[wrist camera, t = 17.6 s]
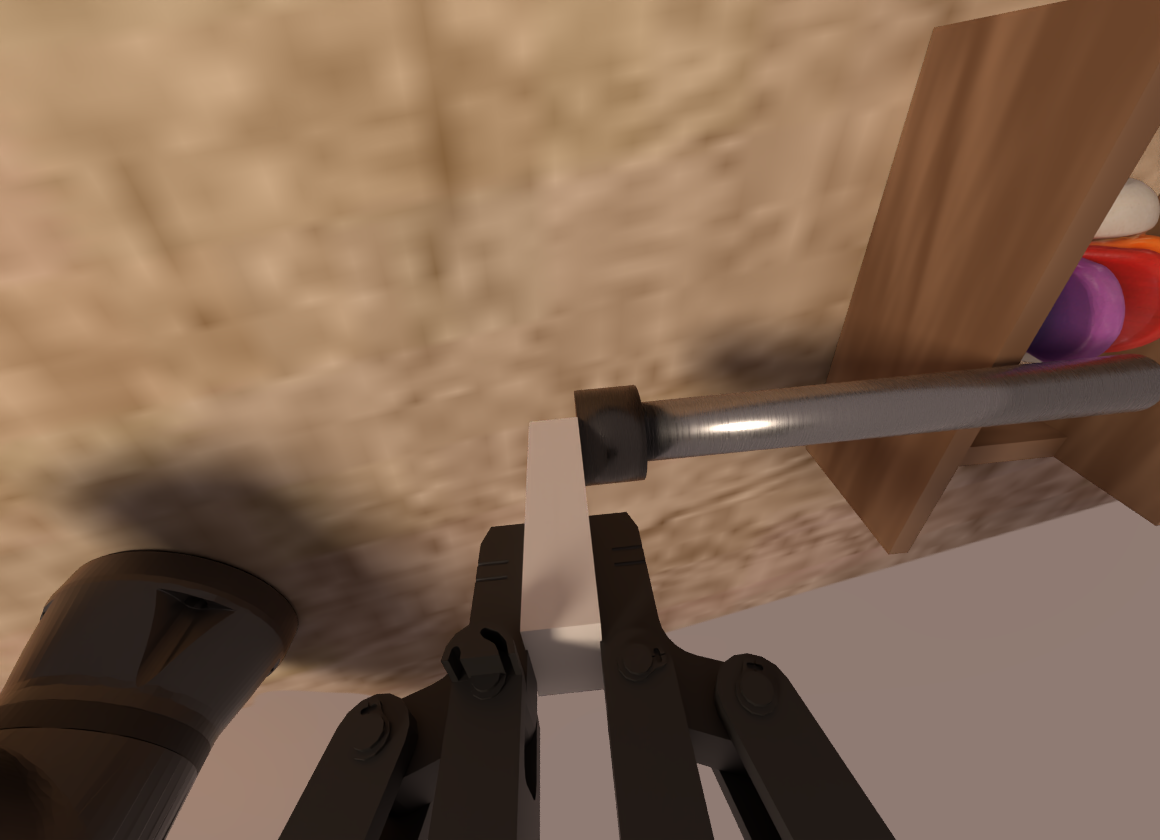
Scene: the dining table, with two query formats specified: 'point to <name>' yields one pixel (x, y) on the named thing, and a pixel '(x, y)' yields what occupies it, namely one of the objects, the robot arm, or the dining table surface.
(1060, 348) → the rainbow disc toy
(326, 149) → the dining table surface
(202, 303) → the dining table surface
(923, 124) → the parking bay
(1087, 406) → the rod
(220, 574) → the robot arm
